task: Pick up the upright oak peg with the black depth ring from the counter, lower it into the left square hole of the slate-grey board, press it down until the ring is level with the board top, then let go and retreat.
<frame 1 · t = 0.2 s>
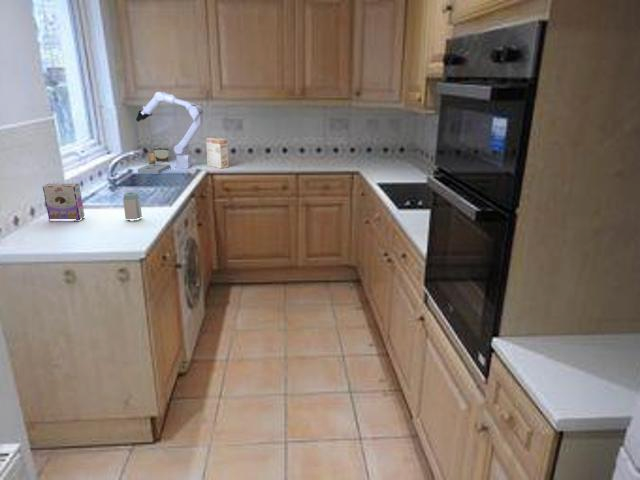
hand: (139, 119, 328), 31 cm above the table, tool tilted 45°, fingers open, 7 cm apart
peg: (152, 166, 336), on the table
candy box: (67, 220, 220), on the table
food container: (164, 161, 355), on the table
coffeecake box: (218, 166, 339), on the table
board: (154, 170, 323), on the table
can: (134, 220, 222), on the table
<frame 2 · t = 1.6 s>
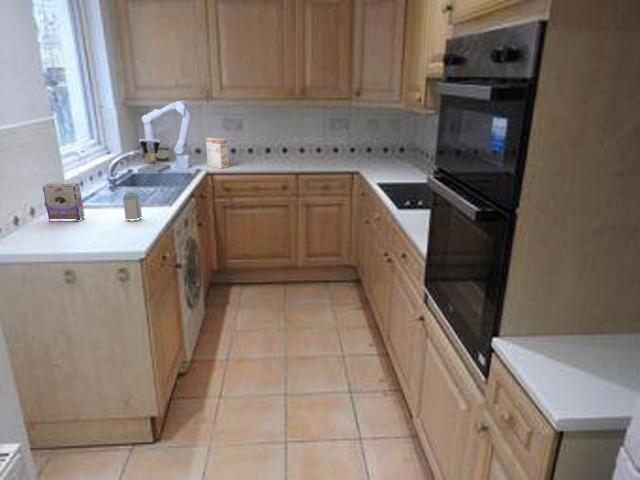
hand: (151, 153, 333), 9 cm above the table, tool pointing down, fingers open, 7 cm apart
nothing on the table moved.
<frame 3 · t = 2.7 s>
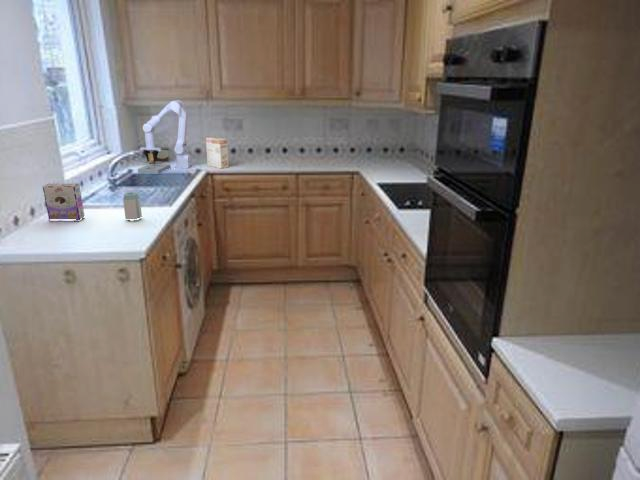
hand: (151, 161, 335), 3 cm above the table, tool pointing down, fingers closed on peg, 4 cm apart
peg: (152, 166, 336), on the table, touching gripper
everything else where it was.
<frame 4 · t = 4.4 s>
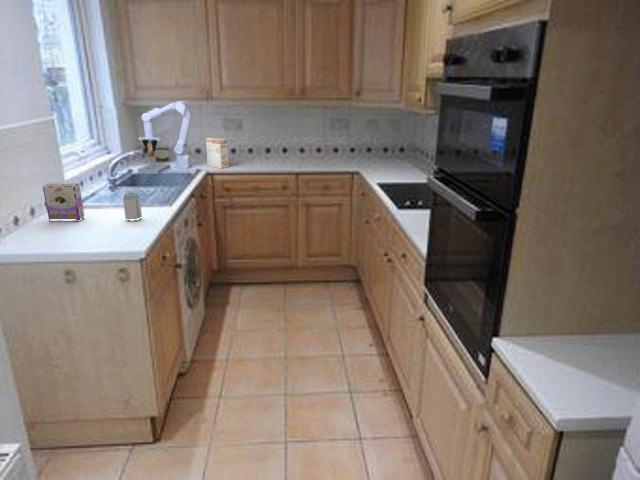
hand: (150, 151, 333), 10 cm above the table, tool pointing down, fingers closed on peg, 4 cm apart
peg: (151, 156, 334), point 7 cm above the table, touching gripper
everything else where it was.
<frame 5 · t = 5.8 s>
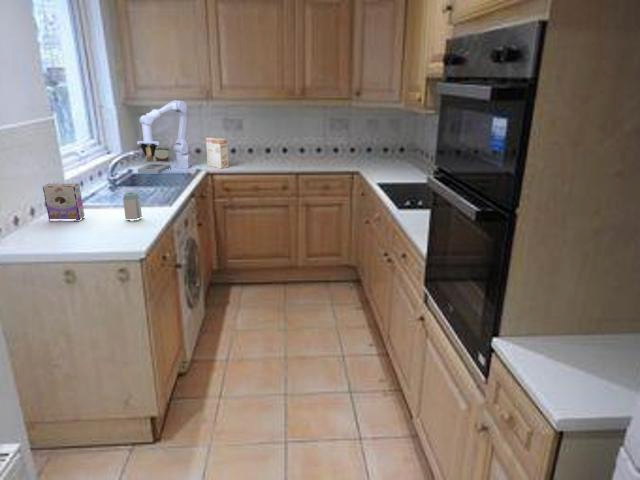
hand: (149, 155, 316), 10 cm above the table, tool pointing down, fingers closed on peg, 4 cm apart
peg: (150, 161, 317), point 7 cm above the table, touching gripper
everything else where it was.
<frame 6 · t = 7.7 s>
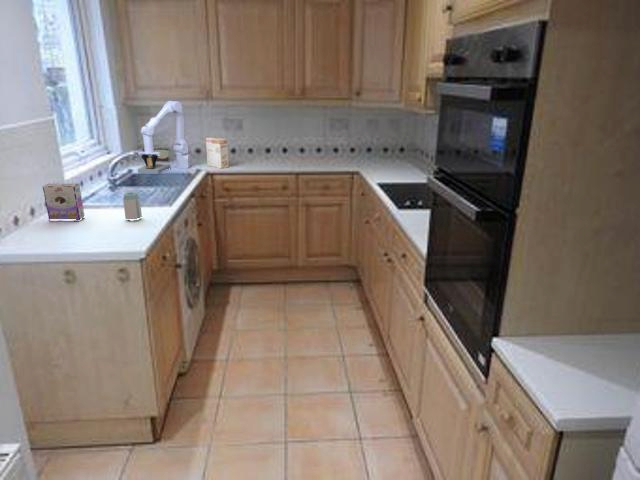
hand: (150, 166, 317), 4 cm above the table, tool pointing down, fingers closed on peg, 4 cm apart
peg: (151, 171, 319), resting in board, touching gripper
everything else where it was.
when the fingers open (3 cm above the table, at t = 9.1 s): peg stays where it is, resting in board.
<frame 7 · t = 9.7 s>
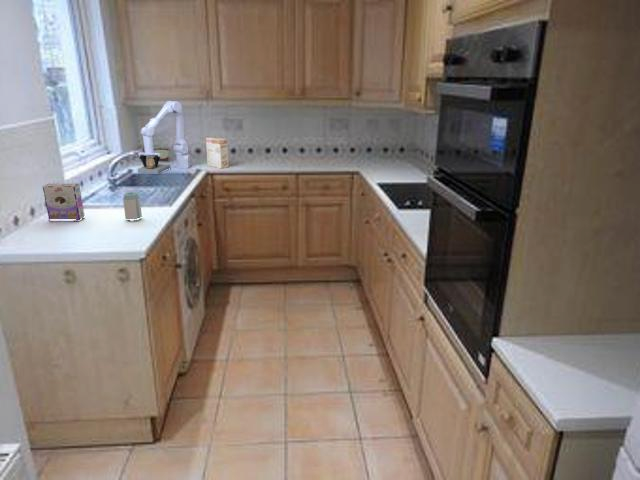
hand: (150, 167, 318), 3 cm above the table, tool pointing down, fingers open, 7 cm apart
peg: (151, 171, 319), resting in board
everything else where it was.
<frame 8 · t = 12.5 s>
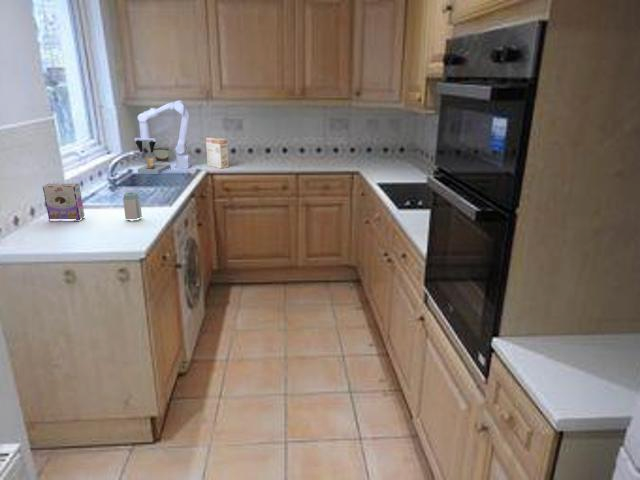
hand: (146, 152, 329), 10 cm above the table, tool pointing down, fingers open, 7 cm apart
nothing on the table moved.
at the end: peg 0.0 cm from the target spot on the board, point 0.0 cm above the board's base; peg tilted 0°; the gripper is holding nothing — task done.
